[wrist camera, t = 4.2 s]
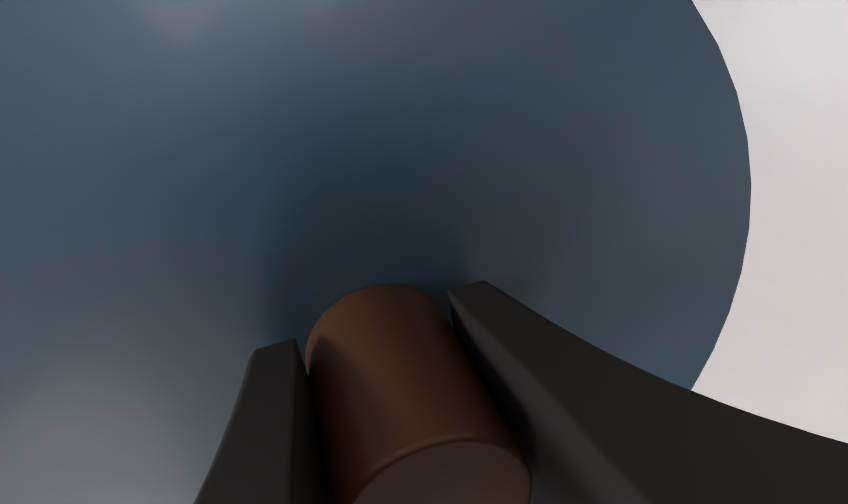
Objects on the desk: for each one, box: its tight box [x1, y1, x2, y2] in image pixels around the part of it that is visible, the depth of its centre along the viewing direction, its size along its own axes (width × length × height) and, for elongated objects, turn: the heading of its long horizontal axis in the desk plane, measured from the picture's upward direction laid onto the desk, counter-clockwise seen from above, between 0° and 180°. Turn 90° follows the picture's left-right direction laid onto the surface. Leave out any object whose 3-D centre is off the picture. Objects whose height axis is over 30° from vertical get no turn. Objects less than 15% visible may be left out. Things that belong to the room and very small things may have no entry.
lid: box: [0, 0, 751, 504], centre depth 9 cm, size 14×14×4 cm
